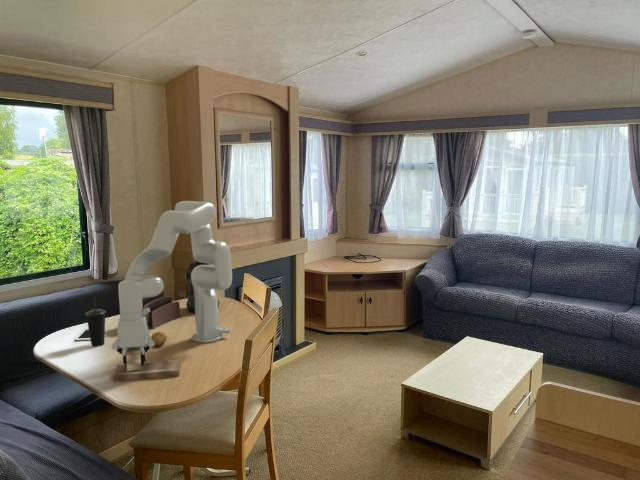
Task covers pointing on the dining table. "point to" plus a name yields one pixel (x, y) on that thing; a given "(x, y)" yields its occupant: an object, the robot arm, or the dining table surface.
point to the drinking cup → (96, 325)
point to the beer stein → (191, 298)
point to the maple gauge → (133, 359)
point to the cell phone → (84, 336)
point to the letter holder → (161, 309)
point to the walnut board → (148, 371)
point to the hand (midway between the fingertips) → (134, 364)
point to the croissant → (159, 338)
